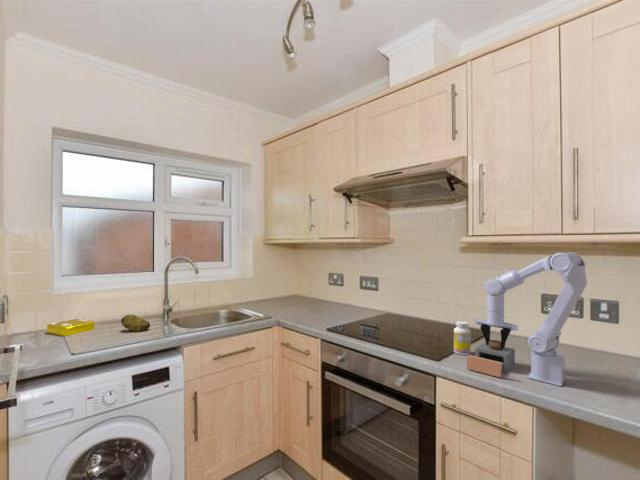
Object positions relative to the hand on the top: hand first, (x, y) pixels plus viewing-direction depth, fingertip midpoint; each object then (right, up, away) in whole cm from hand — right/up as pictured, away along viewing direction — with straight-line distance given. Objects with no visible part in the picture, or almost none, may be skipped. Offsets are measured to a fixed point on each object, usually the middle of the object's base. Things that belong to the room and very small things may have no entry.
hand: (495, 346), depth 126 cm
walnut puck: (0, -1, 0) cm, 1 cm away
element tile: (-192, -6, +39) cm, 197 cm away
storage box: (0, -7, 0) cm, 7 cm away
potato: (-161, -6, +42) cm, 167 cm away
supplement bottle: (-7, -7, +13) cm, 16 cm away
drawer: (-6, -6, -7) cm, 11 cm away
